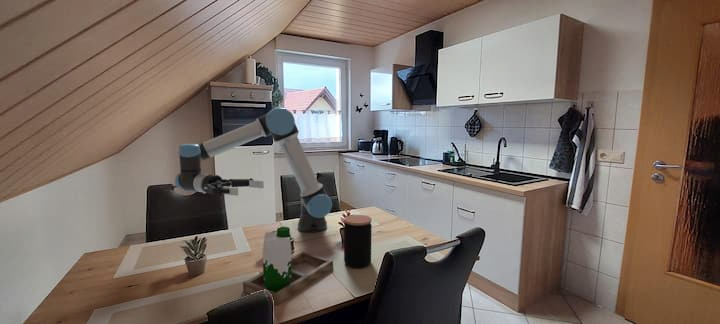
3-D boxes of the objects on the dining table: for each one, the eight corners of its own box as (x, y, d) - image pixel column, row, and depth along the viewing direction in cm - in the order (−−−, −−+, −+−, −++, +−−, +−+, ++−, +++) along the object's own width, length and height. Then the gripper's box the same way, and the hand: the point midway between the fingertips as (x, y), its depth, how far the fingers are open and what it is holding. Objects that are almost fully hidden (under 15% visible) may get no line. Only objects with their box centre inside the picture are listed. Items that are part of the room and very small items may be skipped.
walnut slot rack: (303, 258, 122) (303, 251, 122) (333, 268, 114) (333, 260, 114) (243, 291, 98) (243, 282, 98) (275, 305, 90) (275, 296, 90)
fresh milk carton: (292, 292, 98) (291, 232, 95) (263, 296, 96) (261, 235, 93) (291, 279, 106) (290, 224, 104) (264, 282, 104) (262, 226, 101)
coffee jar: (375, 261, 121) (376, 217, 119) (362, 271, 112) (363, 225, 110) (353, 255, 126) (353, 213, 124) (338, 265, 117) (338, 220, 115)
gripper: (232, 187, 134) (272, 191, 126) (181, 199, 111) (225, 205, 103) (232, 170, 133) (271, 173, 125) (179, 179, 110) (224, 184, 102)
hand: (250, 188), depth 114 cm, fingers open, 13 cm apart
